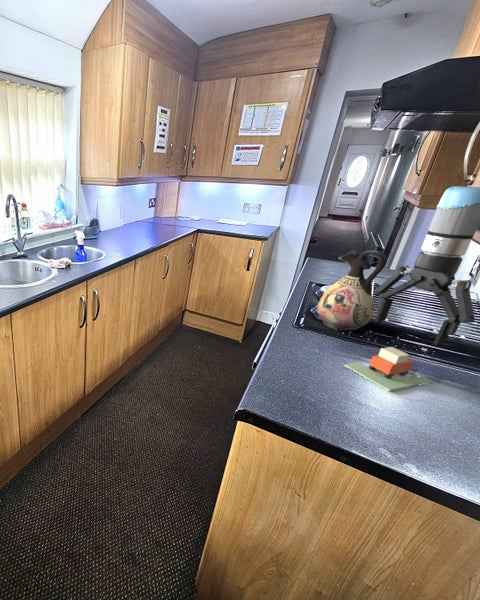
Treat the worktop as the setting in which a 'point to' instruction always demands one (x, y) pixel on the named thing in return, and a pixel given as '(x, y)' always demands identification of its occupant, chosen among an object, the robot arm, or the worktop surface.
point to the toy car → (391, 362)
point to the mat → (384, 382)
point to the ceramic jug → (351, 294)
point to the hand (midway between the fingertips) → (407, 331)
